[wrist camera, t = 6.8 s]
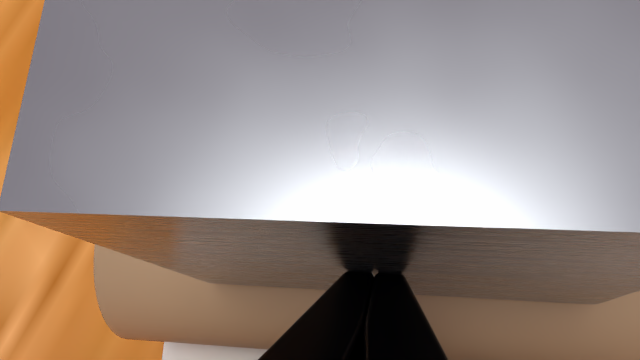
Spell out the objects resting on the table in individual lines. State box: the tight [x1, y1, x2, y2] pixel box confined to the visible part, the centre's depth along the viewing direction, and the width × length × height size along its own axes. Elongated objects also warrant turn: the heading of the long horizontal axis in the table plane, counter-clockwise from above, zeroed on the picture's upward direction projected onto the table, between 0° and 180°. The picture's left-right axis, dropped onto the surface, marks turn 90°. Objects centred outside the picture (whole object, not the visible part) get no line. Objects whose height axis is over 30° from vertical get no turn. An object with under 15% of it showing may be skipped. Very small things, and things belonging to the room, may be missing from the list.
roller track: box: [94, 244, 640, 360], centre depth 12 cm, size 25×12×7 cm, turn 176°
